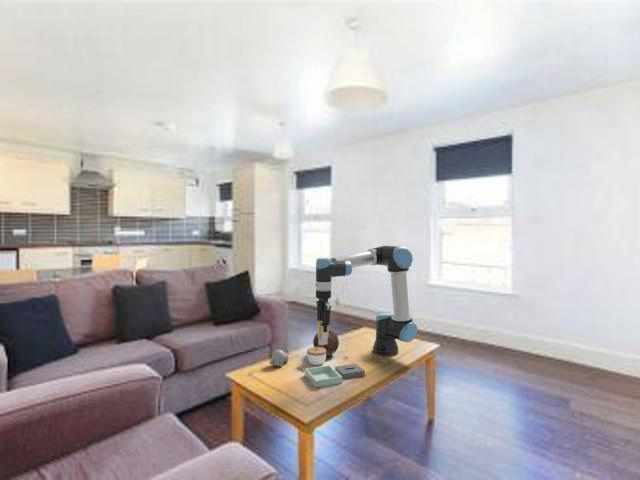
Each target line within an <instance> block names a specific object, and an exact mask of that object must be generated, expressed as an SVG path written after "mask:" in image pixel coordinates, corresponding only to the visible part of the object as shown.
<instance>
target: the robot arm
mask: <svg viewBox="0 0 640 480" xmlns="http://www.w3.org/2000/svg"><path fill="white" fill-rule="evenodd" d="M413 261H414V260H413V254H412V252H411V251H410V249H409V248H407V247H405V246H401V245H400V246H398V245H381V246H377V247H374V248H369V249H367V250H366V251H362V252H356V253H352V254H347V255H341V256H336V257H330V258H329V257H318V258H317V259H316V261H315V284H314V285H315V289H316V290H315V298H316V299H318V300H316V312H317V313H316V317H317V319H316V320H317V322H318V321H322V324H321V326H322V339H325V338H327V325H329V326H330V323H331V322H330V321H331V319H330V318H331V308H332V306H331V305H329V304H330V303H329V299H330V298H332V278H335V277H346V276H347V277H348V276H350V275H352V273H353V269H354V268H358V267H363V266H368V265H370V266H376V265H377V266H385V267H387V272H388V273H389V274H390V281H391V283H390V284H391V296H392V307H393V308H392V309H393V310H392V311H393V312H383V313H377V315H376V317H375V318H376V319H375V340H374V342H373V345H372V351H373V353H375V354H377V355H378V356H379V355H380V356H385V355H391V356H395V355H394V354H396V355H398V353H399V347H398V342H397V340H398V341H400V342H403V343H410V342H412V341H413V340H414V339H415V338H416V336H417V334H418V326H417V324H416V323H415V322H413V316H412V315H411V314H410V310H409V309H410V308H409V296H408V295H409V294H408V293H409V292H408V281H407V279H408V277H407V273H408V272H409V271H410V267H411V266H412V264H413Z"/></svg>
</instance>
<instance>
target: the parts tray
mask: <svg viewBox="0 0 640 480" xmlns="http://www.w3.org/2000/svg"><path fill="white" fill-rule="evenodd" d="M304 376H305V378H306V379H308V381H309V382H310V383H311V384H312V386H313V387H314V388H315V389H320V388H321V387H326V386H331V385H338V384H342V383H343V379H342V376H341V375H340V374H339V373H338V372H337V371H336V370H335V367H332V366H331V364H328V365H319V366H315V367H314V366H313V367H306V368H304Z"/></svg>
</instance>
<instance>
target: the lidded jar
mask: <svg viewBox="0 0 640 480" xmlns="http://www.w3.org/2000/svg"><path fill="white" fill-rule="evenodd" d="M306 356H307V357H306V358H307V361H308V362H309V364H310V365H313V366H322V365H323V364H324V363H325V361H326V359H327V356H326V349H325V348H322V347H314V346H313V347H309V348H307V349H306Z"/></svg>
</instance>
